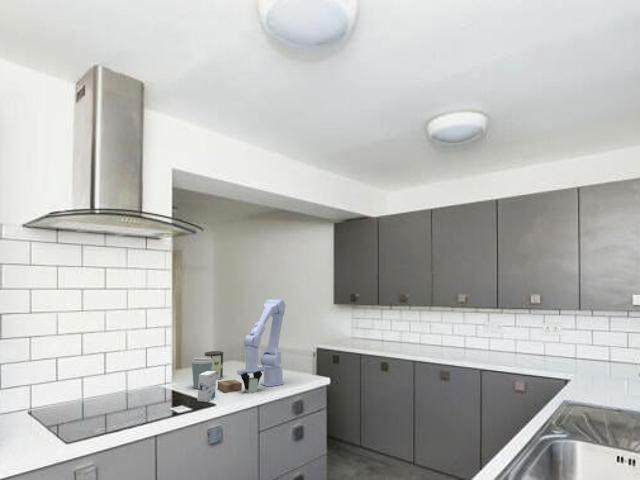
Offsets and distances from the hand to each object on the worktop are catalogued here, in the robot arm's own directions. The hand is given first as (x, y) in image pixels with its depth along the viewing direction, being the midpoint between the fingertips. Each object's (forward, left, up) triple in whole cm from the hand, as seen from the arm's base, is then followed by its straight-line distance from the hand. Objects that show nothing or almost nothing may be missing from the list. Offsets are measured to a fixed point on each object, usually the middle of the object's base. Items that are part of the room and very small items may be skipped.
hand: (251, 388), depth 208 cm
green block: (0, 0, -1) cm, 1 cm away
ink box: (+23, 0, -2) cm, 23 cm away
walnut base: (+7, -9, -2) cm, 12 cm away
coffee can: (+2, -38, -2) cm, 38 cm away
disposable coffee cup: (+16, -22, -2) cm, 27 cm away
